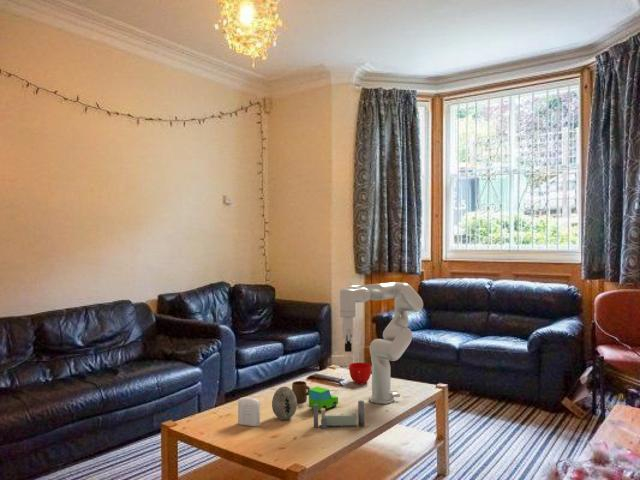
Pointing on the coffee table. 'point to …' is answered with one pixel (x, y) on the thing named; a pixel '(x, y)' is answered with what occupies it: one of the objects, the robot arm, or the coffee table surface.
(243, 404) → the photo printer
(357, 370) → the ceramic cup
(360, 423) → the gate posts
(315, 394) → the green toy car
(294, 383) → the mug
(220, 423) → the coffee table surface
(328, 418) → the gate
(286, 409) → the decorative egg
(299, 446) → the coffee table surface
